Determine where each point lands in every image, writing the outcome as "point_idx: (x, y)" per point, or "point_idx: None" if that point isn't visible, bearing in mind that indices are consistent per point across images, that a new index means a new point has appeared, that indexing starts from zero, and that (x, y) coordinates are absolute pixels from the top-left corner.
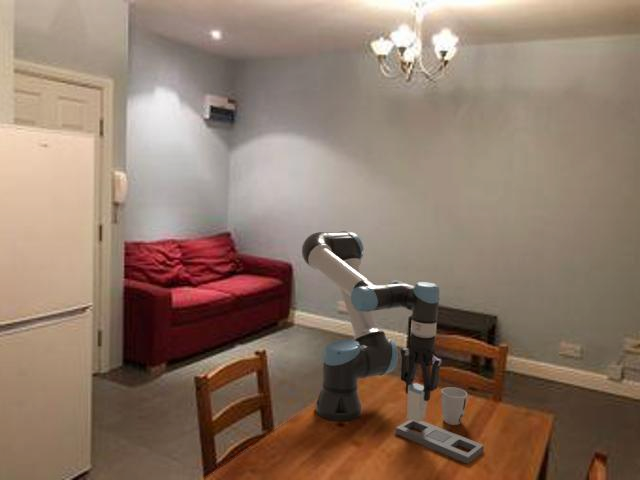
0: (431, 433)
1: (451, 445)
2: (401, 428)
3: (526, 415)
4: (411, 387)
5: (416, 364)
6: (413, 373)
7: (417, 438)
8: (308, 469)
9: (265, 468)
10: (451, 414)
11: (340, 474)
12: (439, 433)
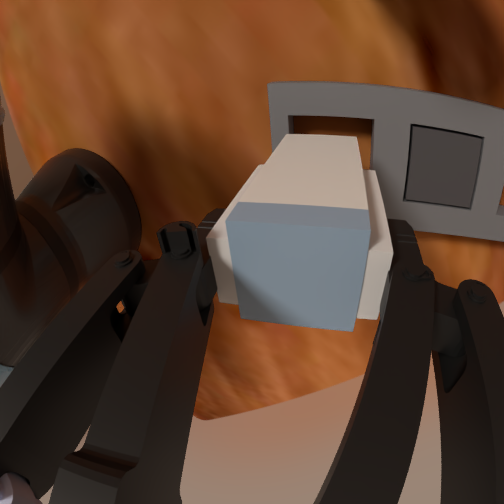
0: (412, 167)
1: (497, 202)
2: None
3: None
4: (262, 320)
5: (157, 486)
6: (185, 370)
7: None
8: (256, 400)
9: (218, 408)
10: None
11: (303, 395)
12: (438, 145)
